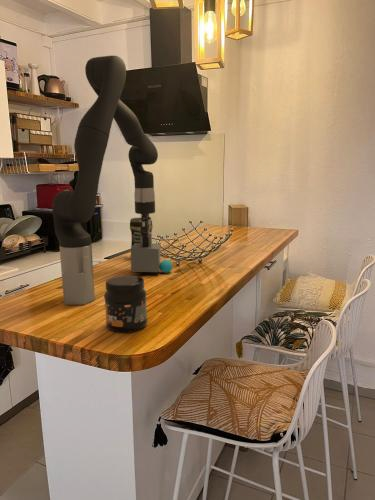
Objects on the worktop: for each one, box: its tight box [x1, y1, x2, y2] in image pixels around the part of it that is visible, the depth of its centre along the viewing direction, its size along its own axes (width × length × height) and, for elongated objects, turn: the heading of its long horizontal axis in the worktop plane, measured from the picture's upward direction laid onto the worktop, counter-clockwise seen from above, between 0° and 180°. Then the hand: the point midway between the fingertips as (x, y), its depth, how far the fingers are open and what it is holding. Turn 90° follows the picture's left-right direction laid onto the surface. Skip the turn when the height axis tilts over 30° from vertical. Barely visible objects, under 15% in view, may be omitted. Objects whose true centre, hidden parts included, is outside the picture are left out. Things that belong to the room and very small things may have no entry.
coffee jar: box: [129, 217, 154, 249], centre depth 172 cm, size 10×8×19 cm
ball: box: [159, 259, 174, 274], centre depth 151 cm, size 5×5×5 cm
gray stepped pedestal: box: [130, 231, 162, 273], centre depth 150 cm, size 10×10×14 cm
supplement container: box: [103, 275, 148, 333], centre depth 100 cm, size 10×10×12 cm
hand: (146, 245), depth 150 cm, fingers closed on gray stepped pedestal, 4 cm apart
